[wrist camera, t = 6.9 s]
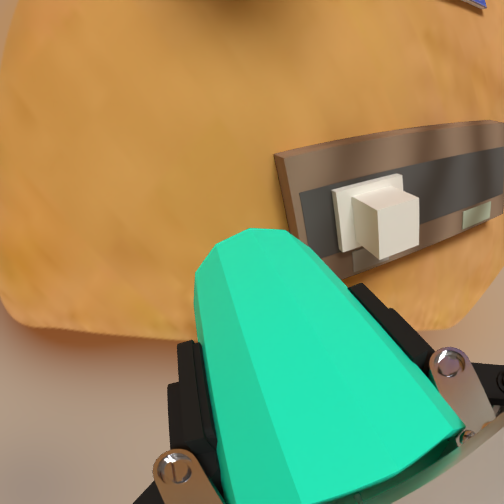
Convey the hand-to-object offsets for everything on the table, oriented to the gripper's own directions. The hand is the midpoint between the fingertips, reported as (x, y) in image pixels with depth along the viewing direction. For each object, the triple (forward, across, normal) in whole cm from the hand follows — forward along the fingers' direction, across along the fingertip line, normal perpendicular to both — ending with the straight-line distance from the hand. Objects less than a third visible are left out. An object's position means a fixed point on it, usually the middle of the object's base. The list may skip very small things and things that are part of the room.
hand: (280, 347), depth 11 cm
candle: (+4, 0, 0) cm, 4 cm away
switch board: (+10, -15, 0) cm, 18 cm away
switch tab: (+8, -9, 0) cm, 12 cm away
